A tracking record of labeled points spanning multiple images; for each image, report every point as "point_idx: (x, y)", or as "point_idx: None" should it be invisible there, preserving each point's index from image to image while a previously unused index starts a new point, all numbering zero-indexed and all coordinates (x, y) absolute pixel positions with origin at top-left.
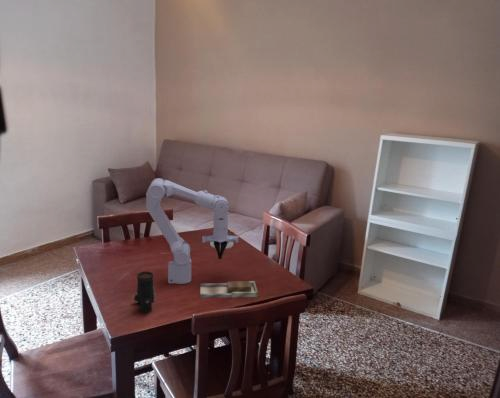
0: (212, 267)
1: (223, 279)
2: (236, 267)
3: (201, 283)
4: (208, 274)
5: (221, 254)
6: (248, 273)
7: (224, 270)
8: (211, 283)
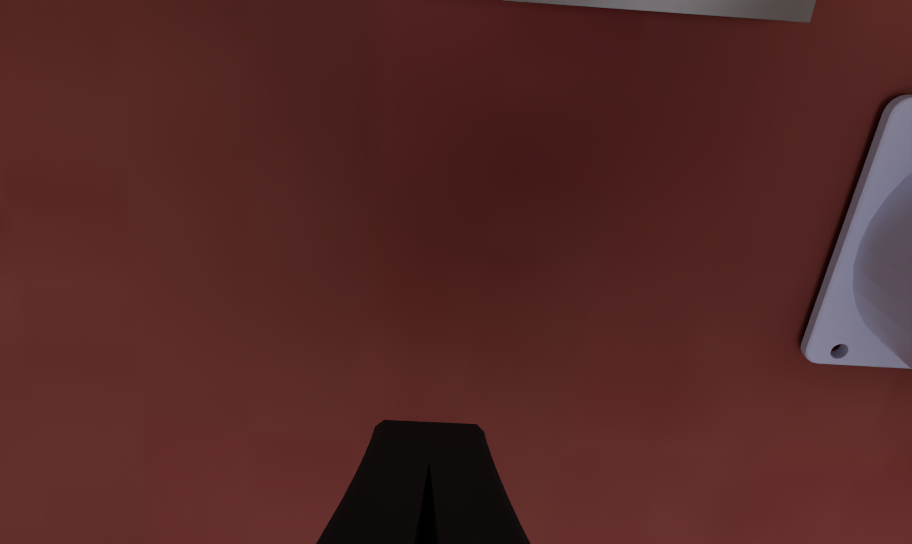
0: None
1: (375, 246)
2: (193, 521)
3: (791, 20)
4: (568, 390)
5: (372, 532)
6: (20, 377)
7: (348, 467)
8: (611, 2)
